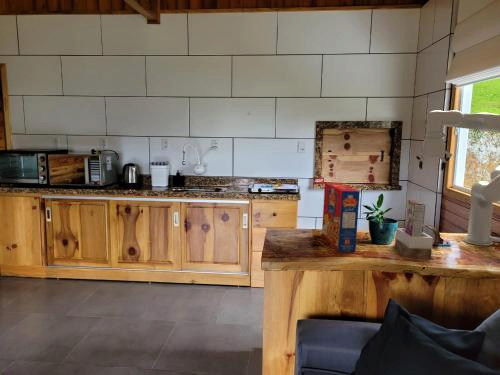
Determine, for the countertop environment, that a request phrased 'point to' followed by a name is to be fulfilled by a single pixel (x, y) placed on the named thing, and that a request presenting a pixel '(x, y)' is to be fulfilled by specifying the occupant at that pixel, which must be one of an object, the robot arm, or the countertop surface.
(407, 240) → the tower top
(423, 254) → the tower base
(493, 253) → the countertop surface
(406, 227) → the candy bar box
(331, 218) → the cereal box
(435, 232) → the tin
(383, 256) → the countertop surface
